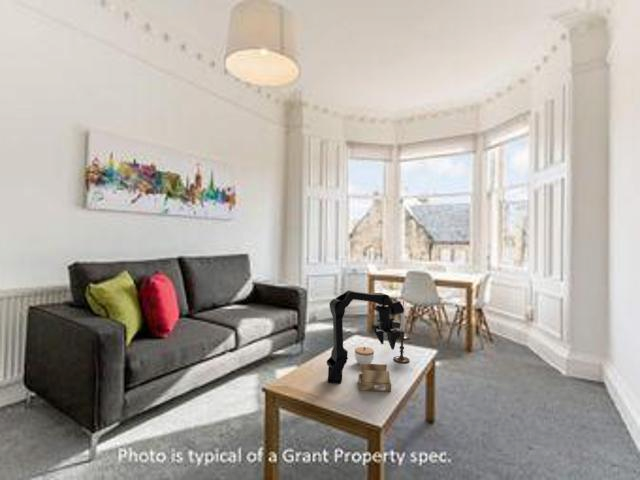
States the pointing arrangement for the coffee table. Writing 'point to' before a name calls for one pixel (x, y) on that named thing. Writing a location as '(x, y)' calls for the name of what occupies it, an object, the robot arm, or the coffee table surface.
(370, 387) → the carton
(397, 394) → the coffee table surface
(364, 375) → the near flap
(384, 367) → the far flap
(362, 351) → the lidded jar
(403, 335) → the candlestick
